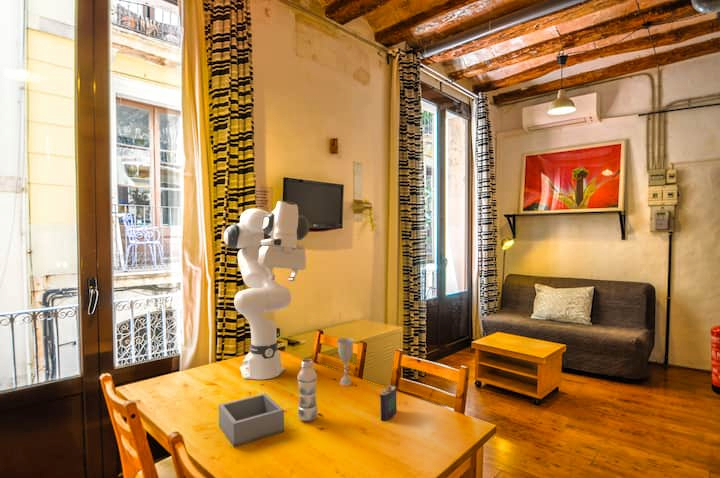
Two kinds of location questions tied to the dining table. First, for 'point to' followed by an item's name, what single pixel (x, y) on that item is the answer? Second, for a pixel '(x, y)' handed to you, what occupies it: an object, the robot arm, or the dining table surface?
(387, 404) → the hip flask
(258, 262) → the robot arm
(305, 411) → the plastic bottle
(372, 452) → the dining table surface
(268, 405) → the bin
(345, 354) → the chalice
